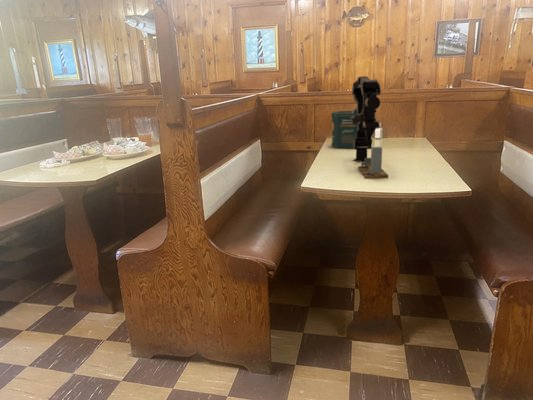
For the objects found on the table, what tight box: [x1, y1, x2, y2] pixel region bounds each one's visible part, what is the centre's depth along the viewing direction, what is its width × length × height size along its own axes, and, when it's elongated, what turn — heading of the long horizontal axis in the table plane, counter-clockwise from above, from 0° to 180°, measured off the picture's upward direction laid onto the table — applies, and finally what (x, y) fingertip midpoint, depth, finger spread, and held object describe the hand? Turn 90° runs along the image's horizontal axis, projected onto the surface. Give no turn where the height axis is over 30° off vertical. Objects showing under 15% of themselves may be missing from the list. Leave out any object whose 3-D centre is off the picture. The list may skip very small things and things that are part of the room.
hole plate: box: [357, 157, 389, 179], centre depth 199 cm, size 20×10×5 cm, turn 178°
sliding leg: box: [367, 146, 383, 174], centre depth 190 cm, size 3×6×12 cm, turn 88°
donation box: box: [331, 107, 358, 150], centre depth 264 cm, size 16×16×28 cm
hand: (368, 140), depth 207 cm, fingers closed
